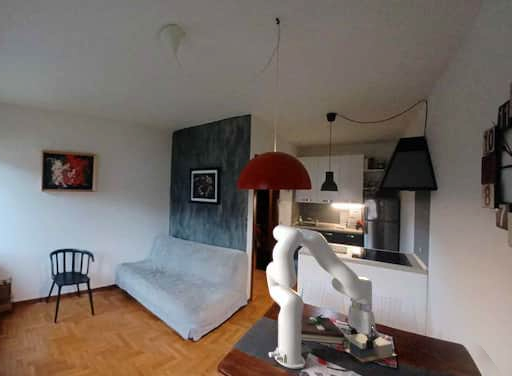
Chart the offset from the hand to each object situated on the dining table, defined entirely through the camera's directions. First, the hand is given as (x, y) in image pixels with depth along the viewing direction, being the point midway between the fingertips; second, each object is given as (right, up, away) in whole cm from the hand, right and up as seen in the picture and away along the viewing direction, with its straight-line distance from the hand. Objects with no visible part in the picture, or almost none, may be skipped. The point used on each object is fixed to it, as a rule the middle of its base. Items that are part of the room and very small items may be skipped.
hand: (361, 343), depth 120 cm
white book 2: (+10, -2, +2) cm, 10 cm away
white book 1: (0, 0, 0) cm, 0 cm away
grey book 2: (0, -5, 0) cm, 5 cm away
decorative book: (-15, -7, +17) cm, 23 cm away
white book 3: (+10, -5, +2) cm, 11 cm away
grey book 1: (0, -2, 0) cm, 2 cm away
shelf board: (+5, -6, +1) cm, 8 cm away
